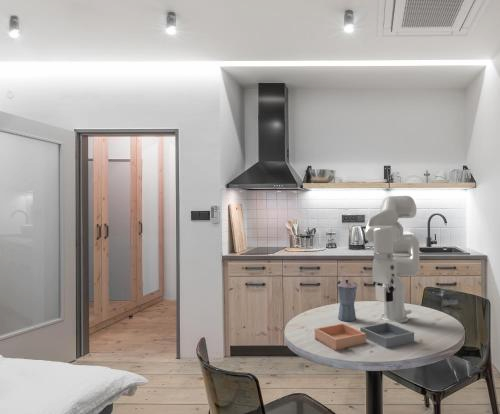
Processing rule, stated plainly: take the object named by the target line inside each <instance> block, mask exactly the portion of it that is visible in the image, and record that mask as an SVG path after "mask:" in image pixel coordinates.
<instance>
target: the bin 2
mask: <svg viewBox="0 0 500 414" xmlns="http://www.w3.org/2000/svg"><path fill="white" fill-rule="evenodd" d="M359 331H361V332H363V333H366V340H368V341H370V342H372V343H375V344H377V345H379V346H381V347H383V348H385V349H388V348H392V347H396V346H397V347H398V346H401V345H405V344H411V343H414V342H415V332H414V331H411V330H409V329H406V328H404V327H401V326H398V325H395V324H392V323H391V322H389V321H388V322H387V321H386V322H383V323H381V322H380V323H376V324H372V325H367V326H362V327H360V330H359Z"/></svg>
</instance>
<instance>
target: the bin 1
mask: <svg viewBox="0 0 500 414" xmlns="http://www.w3.org/2000/svg"><path fill="white" fill-rule="evenodd" d="M314 340H315V341H318V342H319V343H321V344H323V345H324V346H326V347H327V348H330V349H332V350H333V351H334V352H338V351H339V352H340V351H343V350H347V349H350V347H352V346H357V345H361V344H367V339H366V333H363V332H361V331H360V330H359V329H356V328H355V327H353V326H350V325H349V324H348V325H347V324H346V323H343V322H342V323H337V324H332V325H328V326H327V325H326V326H322V327H315V328H314Z"/></svg>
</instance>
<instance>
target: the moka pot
mask: <svg viewBox="0 0 500 414" xmlns="http://www.w3.org/2000/svg"><path fill="white" fill-rule="evenodd" d="M357 288H358V286H357V284H356V283H351V282H349V279H345V282H343V281H340V280H338V282H337V284H336V289H337V293H338V299H339V308H338V316H337V319H338V320H340V321H343V322H350V323H351V322H355V321H356V320H357V317H356V316H357V315H356V308H355V302H356V296H357Z"/></svg>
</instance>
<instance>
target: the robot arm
mask: <svg viewBox="0 0 500 414" xmlns="http://www.w3.org/2000/svg"><path fill="white" fill-rule="evenodd" d="M416 215H417V205H416V202H415V200H414V199H413V197H412V196H410V195H393V196H387V197H385V198H384V199H383V200H382V203H381V205H380V209H379V212H378V213H377V214H375V215H372V217H370V218H369V219H368V220H367V222H366V225H365V230H364V237H365V240H366V241H367V242H369V243H372V244H373V262H372V268H371V269H372V276H371V278H370V281H371V282H372V284H373V285H374V287H375V286H377V285H384V284H385V285H386V289H387V292H386V301H387V302H385V303H384V302H383V314H381V315H380V319H381V320H382V321H386V322H387V321H388V322H394V323H399V324H404V323H407V322H409V317H408V316H407V315H411V314H412V313H413V312H412V310H411V309H407V310H406V309H405V308H406V307H405V285H404V281H403V280H402V279H401V278H400V276H403V277H405V276H407V277H415V276H417V275H418V274H419V273H420V243H419V242H420V241H419V239H418V238H417V237H416V236H413V235H404V227H403V226H402V224H401V223H400V222H399V219H413V218H414V217H416ZM389 286H390V288H389ZM393 297H394V301H393ZM390 301H391V302H390Z"/></svg>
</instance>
